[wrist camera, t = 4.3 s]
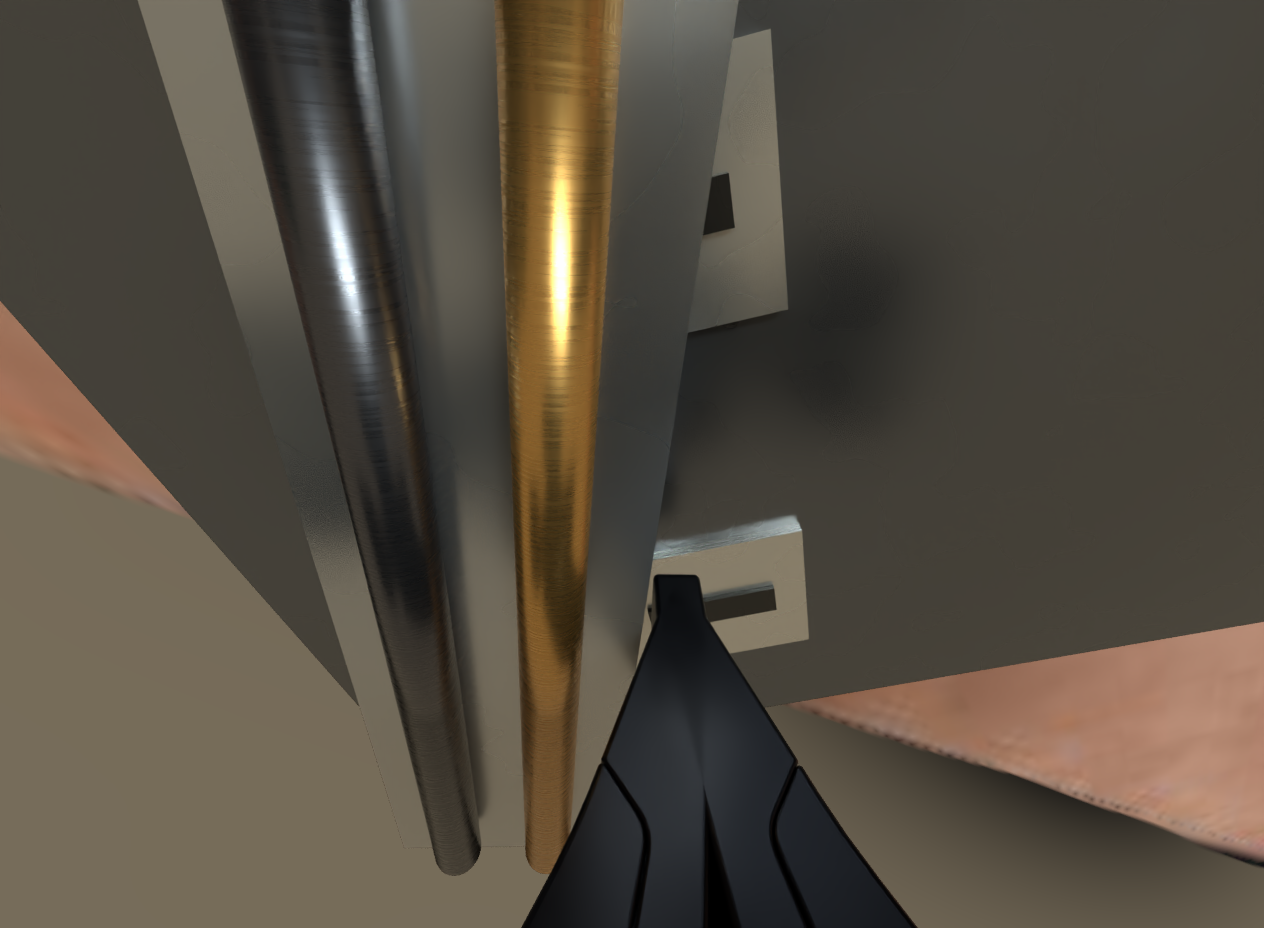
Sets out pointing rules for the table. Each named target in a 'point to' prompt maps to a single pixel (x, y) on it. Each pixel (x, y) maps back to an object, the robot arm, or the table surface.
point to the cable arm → (465, 351)
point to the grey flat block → (796, 327)
